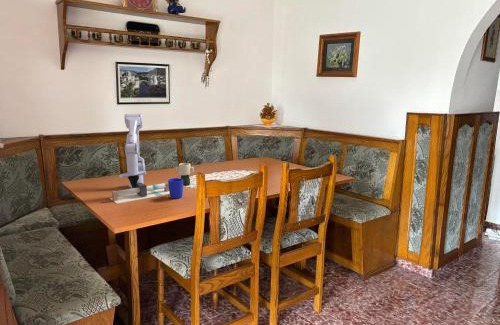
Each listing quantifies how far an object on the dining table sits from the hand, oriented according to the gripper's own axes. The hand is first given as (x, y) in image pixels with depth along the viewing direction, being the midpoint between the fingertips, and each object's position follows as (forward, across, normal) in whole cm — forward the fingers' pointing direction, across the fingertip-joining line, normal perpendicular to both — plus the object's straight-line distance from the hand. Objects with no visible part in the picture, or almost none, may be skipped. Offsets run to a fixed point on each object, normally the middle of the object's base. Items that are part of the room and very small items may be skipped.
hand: (134, 188), depth 223 cm
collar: (+4, +3, -3) cm, 6 cm away
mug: (+4, +18, -15) cm, 24 cm away
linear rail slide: (+4, +3, -3) cm, 6 cm away
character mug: (+4, +34, +5) cm, 35 cm away
